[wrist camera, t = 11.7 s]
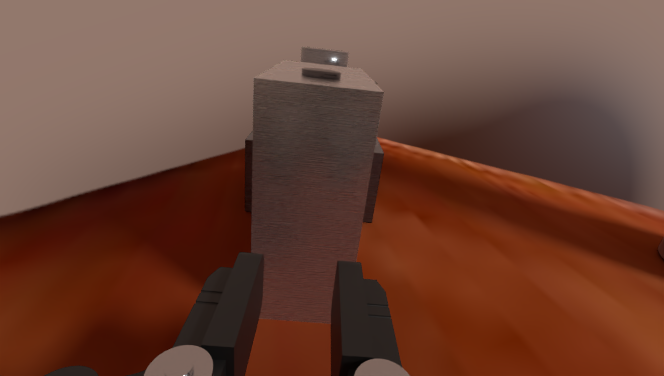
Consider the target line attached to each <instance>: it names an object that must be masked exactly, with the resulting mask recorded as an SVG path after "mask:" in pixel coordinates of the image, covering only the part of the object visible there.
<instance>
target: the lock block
mask: <svg viewBox="0 0 664 376" xmlns="http://www.w3.org/2000/svg"><path fill="white" fill-rule="evenodd" d="M383 94H384V92H383V91H382V90H381V89H380V88H379V87H378V85H377V84H376V83H375V82H374V81H373V80H372V79H371V78H370V77H369V76H368V75H367V74H366V73H365V72H364V71H363V70H362V69H359V68H350V67H342V66H333V65H324V64H315V63H306V62H297V61H288V60H284V61H282V62H280V63H279V64H277V65H275V66H273V67H272V68H270V69H268V70H266V71H265V72H263V73H261V74H260V75H258V76H256V77H254V95H253V158H252V224H251V253H257V254H264V278H263V299H262V306H261V312H260V316H259V318H260V319H274V320H287V321H301V322H314V323H327V324H331V305H332V296H333V289H334V281H335V274H336V267H337V261H350V262H356V260H357V253H358V247H359V241H360V235H361V229H362V223H363V217H364V211H365V204H366V198H367V192H368V186H369V180H370V174H371V168H372V162H373V156H374V149H375V143H376V137H377V131H378V125H379V119H380V113H381V107H382V100H383Z"/></svg>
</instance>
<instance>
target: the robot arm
mask: <svg viewBox="0 0 664 376" xmlns="http://www.w3.org/2000/svg"><path fill="white" fill-rule="evenodd" d="M658 252H659V254H660V255H661V257H662V258H663V259H664V237H663V239H662V241H661V242H660V244H659V246H658ZM263 278H264V254H257V253H246V252H240V253H239V254H238V257H237V259H236V262H235V264H234V266H233V268H227V267H220V268H218V269H217V270H216V271H215V272H214V273H212V274H211V275H210V276H209V277H208V278H207V280H206V282H205V284H204V286H203V288H202V290H201V293H200V294H199V296H198V298H197V300H196V304H194V306H193V308H192V310H191V312H190V314H189V316H188V318H187V320H186V322H185V324H184V326H183V328H182V330H181V332H180V334H179V336H178V338H177V340H176V342H175V344H174V346H173V347H172V348H171V349H169V350H167V351H165V352H163V353H162V354H160V355H159V356H158V357H156V358H155V359H154V360H153V361H152V362H151V363H150V365H149V366H148V368H147V369H146V370H144V371H141V372H139V373H136V374H132V375H127V376H245V372H246V368H247V364H248V360H249V356H250V352H251V348H252V344H253V340H254V336H255V332H256V328H257V324H258V320H259V316H260V312H261V306H262V299H263ZM45 376H98V374H97V373H96V372H95V371H94V370H93V369H91V368H89V367H85V366H70V367H65V368H61V369H58V370H55V371H53V372H51V373H49V374H47V375H45ZM331 376H409V374H408V373H407V372H406V371H405V370H404V369H403V368H402V365H401V361H400V357H399V352H398V347H397V343H396V338H395V334H394V329H393V325H392V320H391V315H390V311H389V308H388V302H387V297H386V292H385V291H384V289H383V288H382V287H381V285H380V284H379V283H378V282H377V280H370V279H363V274H362V266H361V263H360V262H350V261H337V267H336V274H335V281H334V289H333V296H332V305H331Z"/></svg>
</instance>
